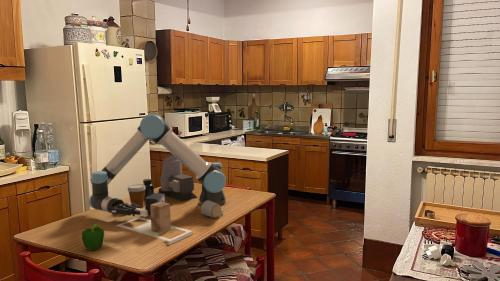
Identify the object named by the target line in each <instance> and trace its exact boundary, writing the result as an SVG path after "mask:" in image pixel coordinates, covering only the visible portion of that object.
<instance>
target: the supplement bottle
mask: <svg viewBox="0 0 500 281" xmlns="http://www.w3.org/2000/svg"><path fill="white" fill-rule="evenodd" d="M142 181H143V182H142V185H145V187H146V189H145V194H144V202H145V198H146V197H148V196H150V195H152V194H153V193H155V187H154V184H153V181H152V178H144V179H142Z"/></svg>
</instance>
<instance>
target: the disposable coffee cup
mask: <svg viewBox="0 0 500 281" xmlns="http://www.w3.org/2000/svg"><path fill="white" fill-rule="evenodd" d="M145 189H146V187H145V185H143V183H142V184H138V183H136V184H130V185H128V187H127V191H128V196H129V200H130V201H129V202H130V204H131V203H132V202H134V203H135V204H137V205H139V206H141V209H144V208H145V206H144V205H145V201H144V194H145Z"/></svg>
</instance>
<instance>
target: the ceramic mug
mask: <svg viewBox="0 0 500 281" xmlns="http://www.w3.org/2000/svg"><path fill="white" fill-rule="evenodd" d="M200 207H201V214H202V215H203V216H206V217H209V218H211V219H212V218H213V219H215V218H218V217H220V215H224V210H222V205H219V204H217V203H214V202H212V201H209V200H207V201H205V202H204V203H203V204H202V205H201V206H200Z"/></svg>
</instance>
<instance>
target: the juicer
mask: <svg viewBox="0 0 500 281" xmlns="http://www.w3.org/2000/svg"><path fill="white" fill-rule="evenodd" d="M182 164H183V163H182V162H181V161H180V160H178V159H177V158H176V157H175V156H174V155H171V156H168V157H166V158H164V159H163V161H162V172H161V175H160V188H158V192H157V193H161V194H165V197H168V198H171V199H173V200H176V201H178V202H181V203H182V202H186V201H190V200H194V199H199V198H198V196H197V195H196V194H194V190H195V178H194V176H191V175H187V174H184V173H183V169H182V168H183V165H182Z"/></svg>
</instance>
